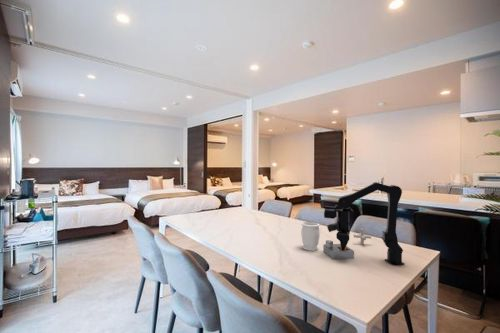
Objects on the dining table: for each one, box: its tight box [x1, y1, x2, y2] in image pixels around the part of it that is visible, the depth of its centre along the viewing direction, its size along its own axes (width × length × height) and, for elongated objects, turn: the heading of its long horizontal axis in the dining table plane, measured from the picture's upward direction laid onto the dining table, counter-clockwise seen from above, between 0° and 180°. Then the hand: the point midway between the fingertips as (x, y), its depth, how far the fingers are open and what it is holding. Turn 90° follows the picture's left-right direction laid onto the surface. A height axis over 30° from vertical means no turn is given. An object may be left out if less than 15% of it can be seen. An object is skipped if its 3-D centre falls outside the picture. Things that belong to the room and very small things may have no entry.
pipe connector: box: [353, 227, 372, 246], centre depth 152 cm, size 10×10×10 cm
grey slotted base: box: [323, 239, 355, 260], centre depth 133 cm, size 12×12×6 cm
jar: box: [301, 221, 321, 252], centre depth 143 cm, size 11×10×15 cm
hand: (343, 247), depth 132 cm, fingers open, 9 cm apart
